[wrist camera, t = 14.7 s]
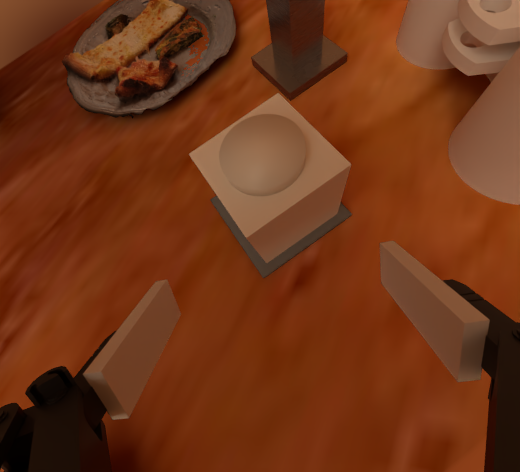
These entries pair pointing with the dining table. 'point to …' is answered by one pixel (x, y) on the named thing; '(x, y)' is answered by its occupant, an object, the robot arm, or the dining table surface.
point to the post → (297, 47)
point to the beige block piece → (274, 175)
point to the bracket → (471, 63)
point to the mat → (287, 254)
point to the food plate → (145, 53)
